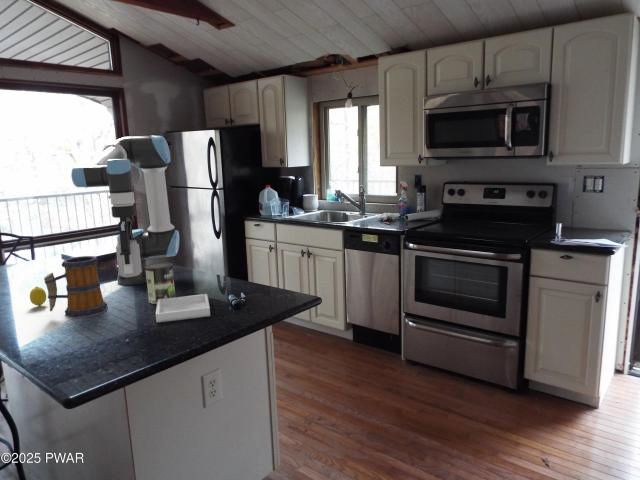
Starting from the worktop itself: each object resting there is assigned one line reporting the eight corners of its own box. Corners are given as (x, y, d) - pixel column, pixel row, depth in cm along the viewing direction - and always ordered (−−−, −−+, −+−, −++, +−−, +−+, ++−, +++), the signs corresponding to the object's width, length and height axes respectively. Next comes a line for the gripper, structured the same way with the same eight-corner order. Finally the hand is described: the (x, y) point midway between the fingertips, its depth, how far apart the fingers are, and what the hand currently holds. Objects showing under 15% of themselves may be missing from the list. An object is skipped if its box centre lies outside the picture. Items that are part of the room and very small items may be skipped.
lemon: (45, 303, 191) (42, 283, 189) (49, 306, 187) (46, 286, 185) (29, 306, 187) (26, 286, 186) (33, 309, 183) (30, 289, 182)
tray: (158, 306, 181) (157, 299, 180) (207, 301, 186) (206, 293, 185) (156, 322, 164) (155, 314, 163) (210, 316, 169) (209, 307, 168)
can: (137, 277, 164) (133, 243, 162) (115, 278, 164) (111, 243, 162) (145, 272, 171) (141, 238, 169) (124, 272, 171) (120, 239, 169)
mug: (51, 324, 166) (42, 268, 163) (48, 313, 178) (40, 260, 175) (110, 312, 176) (104, 259, 173) (104, 303, 188) (98, 253, 185)
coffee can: (180, 296, 194) (177, 262, 191) (167, 304, 184) (164, 268, 181) (157, 295, 196) (153, 262, 193) (143, 303, 186) (139, 268, 183)
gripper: (115, 202, 172) (122, 265, 176) (106, 208, 152) (114, 278, 157) (137, 201, 174) (144, 263, 178) (131, 207, 154) (138, 276, 158)
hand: (130, 270), depth 167 cm, fingers closed on can, 7 cm apart
